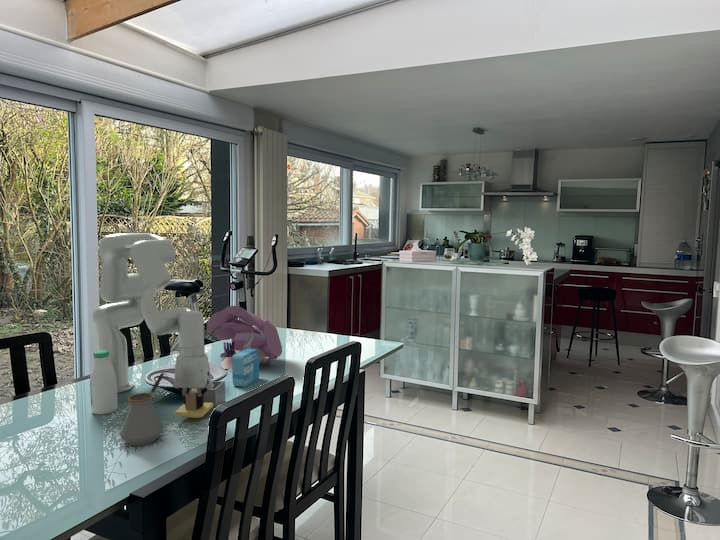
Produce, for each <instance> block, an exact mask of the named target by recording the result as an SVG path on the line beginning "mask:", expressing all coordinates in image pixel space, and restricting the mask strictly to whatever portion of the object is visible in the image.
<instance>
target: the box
mask: <svg viewBox="0 0 720 540" xmlns="http://www.w3.org/2000/svg"><path fill="white" fill-rule="evenodd" d="M211 381H212V383H213V385H214V387H213V388H212V389H210V390H208V391H206V392H205V393H204V394H203V396H204V402H209V403H213V407H212V408H211V409H210V410H209V411H214V410H213V409H214V408H216V407H217V406H218V405H220V404H222V403H223V404H224V403H225V402H226V381H225V380H211ZM206 386H207V385H206ZM206 386H205V387H206ZM205 387H204V388H205ZM192 389H197V388H190V391H191V390H192ZM223 404H222V405H223Z"/></svg>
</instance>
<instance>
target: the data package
mask: <svg viewBox="0 0 720 540" xmlns="http://www.w3.org/2000/svg"><path fill="white" fill-rule="evenodd" d="M231 373H232V377H231V378H232V385H233V386H234V387H239V388H240V387H242V388H245V387H247V386H249V385H250V384H252V383H254V382H255V381H257V380H259V378H260V363H259V351H258V350H257V349H248V348H247V349H245V350H243V351H241V352H239V353H237V354H235V355H233V357H232V371H231Z"/></svg>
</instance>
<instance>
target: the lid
mask: <svg viewBox="0 0 720 540" xmlns="http://www.w3.org/2000/svg"><path fill="white" fill-rule="evenodd" d="M197 396H198V393H197V389H192V390H191V389H190V392H188V393H187V394H186V408H185V404H184V403H183V404H182V405H181V406H179V408H178V409H176V410H175V411H174V414H173V415H174V417H182V418H190V419H191V418H194V419H199V418H203V417H204V416H205V415H206V414H207V413H208V412H209V411H211V410H210V409H211V408H212V407H213V403H209V402H204V404H203V406H202V407H201V408H200V409H197V402H196V397H197Z"/></svg>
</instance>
